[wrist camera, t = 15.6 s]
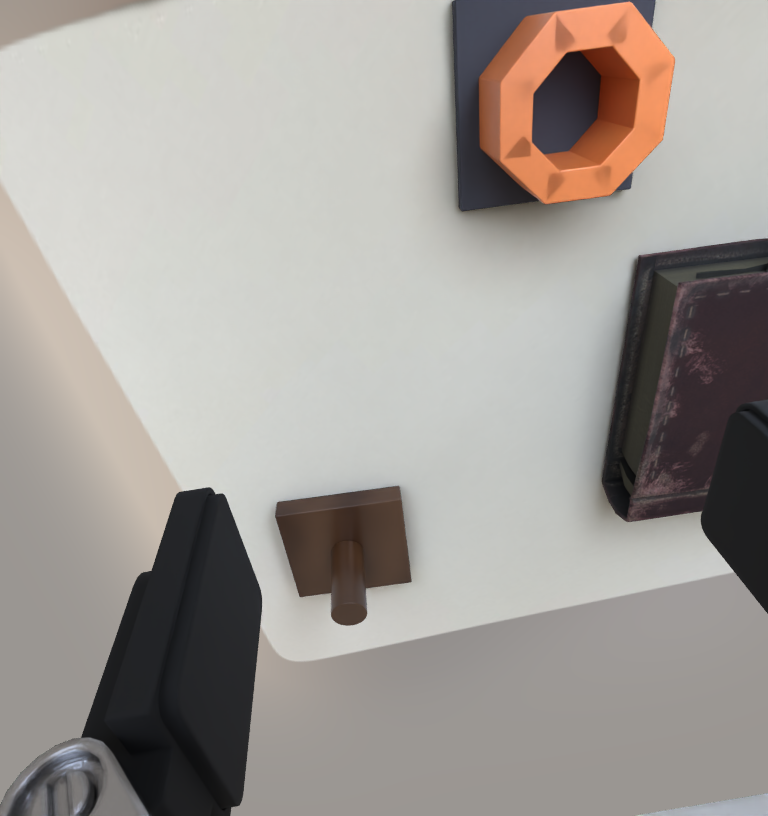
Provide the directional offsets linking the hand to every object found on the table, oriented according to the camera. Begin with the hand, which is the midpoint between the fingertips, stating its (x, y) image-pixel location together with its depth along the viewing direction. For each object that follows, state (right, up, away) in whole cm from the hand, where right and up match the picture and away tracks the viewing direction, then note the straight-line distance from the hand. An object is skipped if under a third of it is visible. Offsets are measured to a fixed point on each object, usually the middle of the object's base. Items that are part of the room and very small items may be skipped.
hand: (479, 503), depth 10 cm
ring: (+6, +16, +16) cm, 24 cm away
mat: (+6, +17, +17) cm, 25 cm away
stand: (-5, -8, +32) cm, 33 cm away
